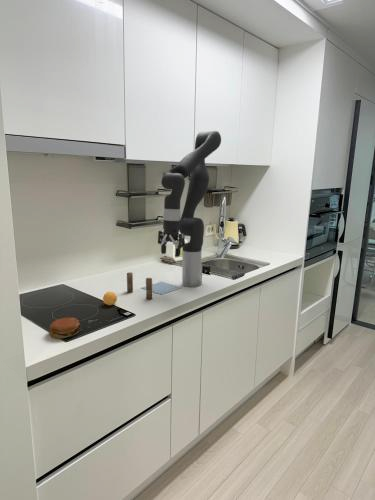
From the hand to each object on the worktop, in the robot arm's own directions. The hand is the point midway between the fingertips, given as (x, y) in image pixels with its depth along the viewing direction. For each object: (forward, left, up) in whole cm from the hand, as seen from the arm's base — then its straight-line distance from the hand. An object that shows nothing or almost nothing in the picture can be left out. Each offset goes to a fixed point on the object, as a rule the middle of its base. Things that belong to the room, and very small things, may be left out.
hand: (170, 255), depth 155 cm
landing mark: (-1, -7, -17) cm, 19 cm away
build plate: (-37, -8, -18) cm, 42 cm away
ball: (+29, -7, -15) cm, 33 cm away
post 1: (+13, -13, -17) cm, 25 cm away
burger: (+55, +3, -18) cm, 58 cm away
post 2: (+13, -1, -17) cm, 22 cm away
